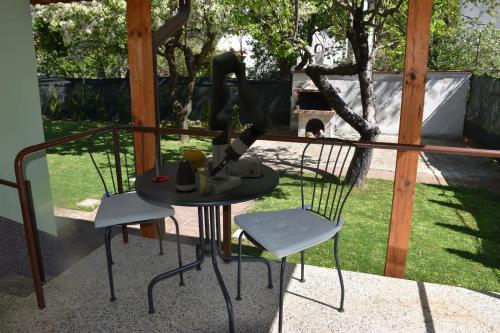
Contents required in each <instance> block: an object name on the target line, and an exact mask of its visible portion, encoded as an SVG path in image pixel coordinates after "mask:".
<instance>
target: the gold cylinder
mask: <svg viewBox="0 0 500 333" xmlns="http://www.w3.org/2000/svg"><path fill="white" fill-rule="evenodd" d="M208 169H209V168H208V167H204V166H202V167H201V168H197V171H196V172H197V173H198V174H199V176H198V177H199V182H200V191H199V194H200V195H201V196H205V195H208V192H207V179H208V178H207V173H208V171H209V170H208Z"/></svg>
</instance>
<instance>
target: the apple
mask: <svg viewBox="0 0 500 333" xmlns="http://www.w3.org/2000/svg"><path fill="white" fill-rule="evenodd" d="M182 157H183V158H182V159H187V160H189V161H190V162H191V161H193V160H196V162H194V163H193V164H192V166H193V168H194V171H195V172H197V168H201V167H204V166H203V165H204V164H205V162H206V158H207V157H206V154H205V153H204V152H203V151H202V150H199V149H190V150H187V151H185V152H184V154H183V156H182Z"/></svg>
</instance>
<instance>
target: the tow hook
mask: <svg viewBox="0 0 500 333" xmlns="http://www.w3.org/2000/svg"><path fill="white" fill-rule="evenodd" d="M155 159H156V161H155V166H156V167H155V168H156V169H155V170H156V172H155V173H156V176H155V177H153V178H151V182H157V183H164V182H165V181H168V180H170V177H169V176H164V175H163V176H160V169H159V168H160V166H159V158H158V156H157V157H155Z"/></svg>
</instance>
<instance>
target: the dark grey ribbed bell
mask: <svg viewBox="0 0 500 333" xmlns="http://www.w3.org/2000/svg"><path fill="white" fill-rule="evenodd" d="M194 162H196V160H193V161H191V162H190V161H189V160H187V159H183V158H182V159H180V160H179V162H178V164H177V167H176V171H175V175H174V184H175V186H176V188H177V189H178V190H179V191H181V192H190V191H192V190H194V189H195V187H196V184H197V175H196V171H194V168H193V166H192V164H193V163H194Z"/></svg>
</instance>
